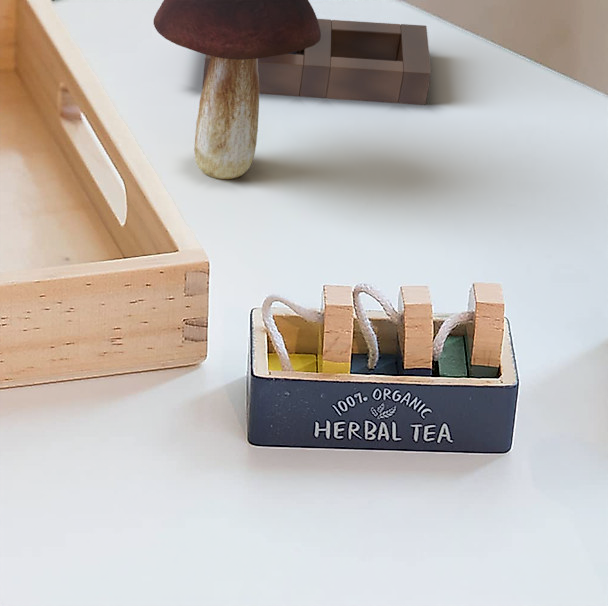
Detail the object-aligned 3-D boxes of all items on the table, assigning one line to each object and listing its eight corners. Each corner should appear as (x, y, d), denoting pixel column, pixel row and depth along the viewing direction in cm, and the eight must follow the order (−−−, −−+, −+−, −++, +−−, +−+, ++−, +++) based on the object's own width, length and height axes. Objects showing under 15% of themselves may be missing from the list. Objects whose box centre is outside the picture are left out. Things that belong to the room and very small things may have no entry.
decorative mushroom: (259, 134, 112) (283, -78, 102) (328, 201, 105) (362, -21, 95) (120, 155, 110) (132, -60, 100) (181, 225, 102) (199, 0, 92)
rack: (419, 62, 122) (426, 25, 120) (423, 112, 115) (431, 73, 113) (209, 48, 124) (213, 11, 122) (201, 96, 117) (204, 58, 115)
